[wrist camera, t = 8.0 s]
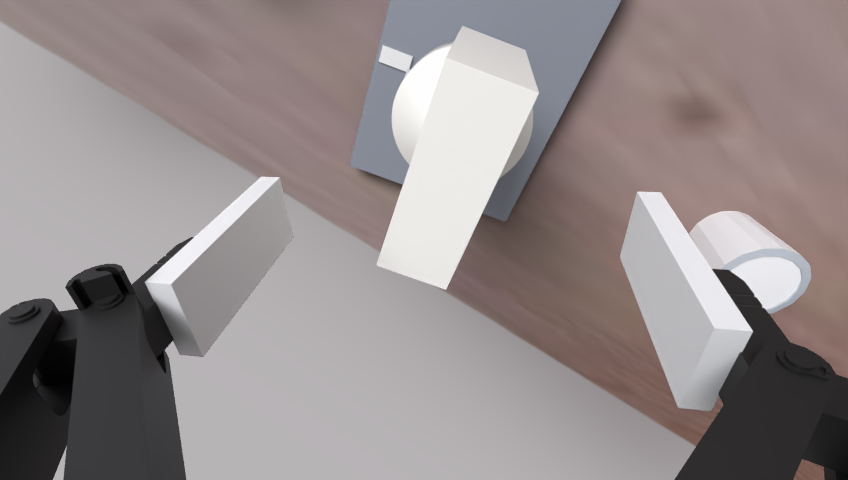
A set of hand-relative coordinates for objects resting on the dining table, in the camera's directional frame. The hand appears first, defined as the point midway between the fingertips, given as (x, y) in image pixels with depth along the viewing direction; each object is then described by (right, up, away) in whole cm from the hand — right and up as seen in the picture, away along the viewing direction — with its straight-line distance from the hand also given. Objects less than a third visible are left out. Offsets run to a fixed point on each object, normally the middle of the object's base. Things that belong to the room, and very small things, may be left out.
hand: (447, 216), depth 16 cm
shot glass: (+26, -1, +23) cm, 35 cm away
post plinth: (+3, +12, +19) cm, 23 cm away
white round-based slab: (+1, +7, +12) cm, 14 cm away
